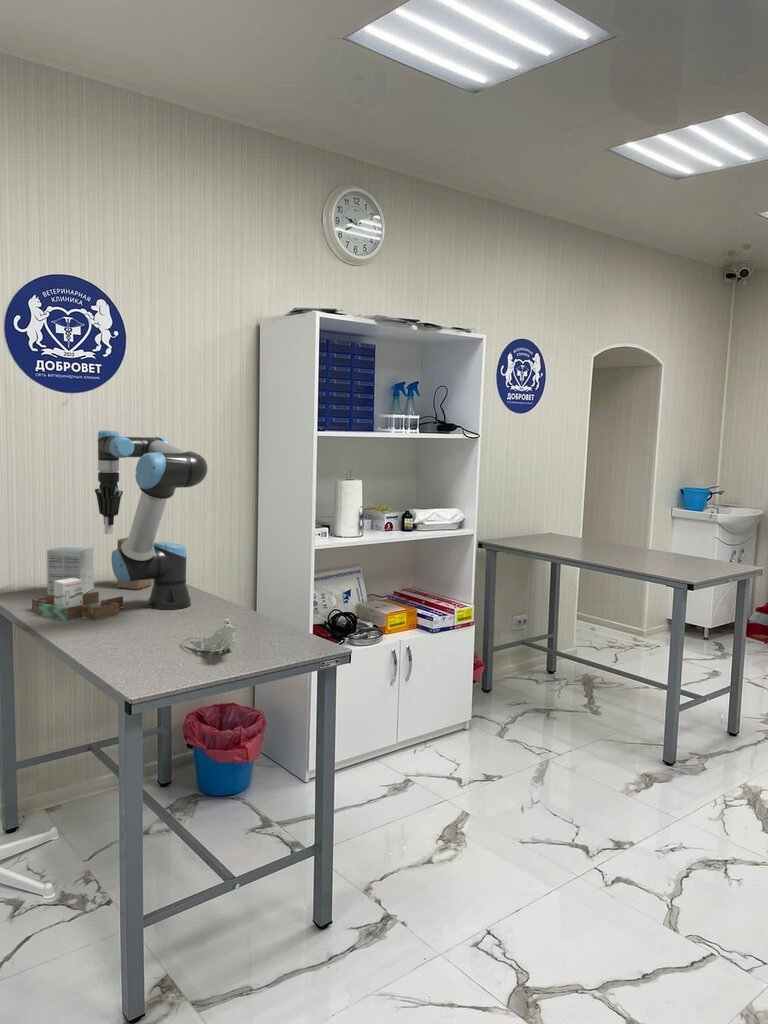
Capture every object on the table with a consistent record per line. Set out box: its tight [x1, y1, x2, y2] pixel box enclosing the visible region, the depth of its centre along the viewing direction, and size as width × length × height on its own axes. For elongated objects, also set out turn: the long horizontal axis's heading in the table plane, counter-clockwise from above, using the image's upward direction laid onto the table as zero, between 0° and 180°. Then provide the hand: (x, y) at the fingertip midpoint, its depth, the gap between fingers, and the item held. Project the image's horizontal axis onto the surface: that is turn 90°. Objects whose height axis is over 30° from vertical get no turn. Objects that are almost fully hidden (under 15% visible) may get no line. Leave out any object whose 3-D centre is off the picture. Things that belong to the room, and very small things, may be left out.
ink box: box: [54, 578, 83, 608], centre depth 273 cm, size 9×5×12 cm, turn 151°
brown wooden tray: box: [31, 591, 124, 621], centre depth 277 cm, size 28×24×4 cm
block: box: [117, 537, 152, 590], centre depth 318 cm, size 10×10×20 cm
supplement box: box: [46, 544, 94, 596], centre depth 305 cm, size 13×13×18 cm
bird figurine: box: [181, 618, 238, 653], centre depth 234 cm, size 16×9×25 cm
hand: (108, 533), depth 298 cm, fingers closed
